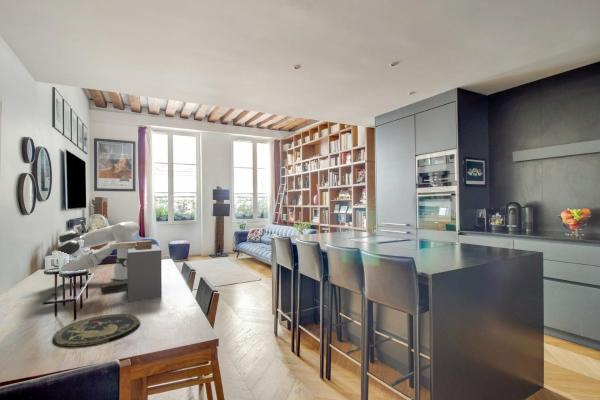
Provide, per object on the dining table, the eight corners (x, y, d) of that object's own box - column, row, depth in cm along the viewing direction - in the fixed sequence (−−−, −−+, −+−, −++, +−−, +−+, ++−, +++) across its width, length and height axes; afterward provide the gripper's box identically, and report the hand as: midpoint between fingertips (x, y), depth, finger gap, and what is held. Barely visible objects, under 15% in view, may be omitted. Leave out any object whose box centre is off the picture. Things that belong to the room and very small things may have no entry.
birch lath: (111, 248, 179) (111, 243, 179) (149, 245, 189) (149, 240, 189) (111, 249, 176) (111, 244, 176) (150, 246, 186) (150, 241, 186)
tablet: (148, 280, 209) (154, 286, 192) (148, 281, 209) (154, 287, 192) (100, 287, 193) (102, 294, 177) (100, 288, 193) (102, 295, 177)
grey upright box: (127, 289, 187) (127, 246, 188) (156, 285, 195) (156, 244, 196) (128, 302, 163) (128, 252, 163) (161, 297, 171) (161, 250, 171)
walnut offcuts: (135, 248, 180) (135, 241, 180) (151, 246, 184) (151, 240, 184) (135, 249, 175) (135, 242, 175) (152, 248, 179) (152, 241, 179)
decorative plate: (71, 317, 137) (146, 310, 146) (71, 322, 137) (146, 314, 146) (36, 349, 109) (131, 337, 117) (36, 354, 109) (131, 342, 117)
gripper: (98, 258, 183) (122, 245, 189) (96, 264, 165) (122, 250, 172) (92, 250, 182) (116, 236, 188) (89, 255, 164) (115, 240, 170)
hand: (119, 243), depth 179 cm, fingers open, 7 cm apart
